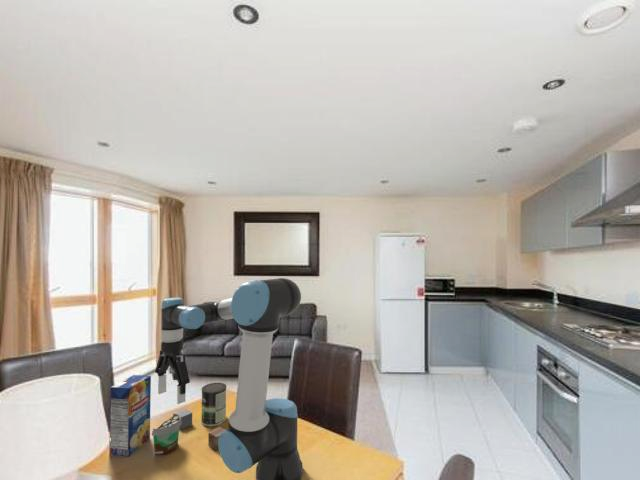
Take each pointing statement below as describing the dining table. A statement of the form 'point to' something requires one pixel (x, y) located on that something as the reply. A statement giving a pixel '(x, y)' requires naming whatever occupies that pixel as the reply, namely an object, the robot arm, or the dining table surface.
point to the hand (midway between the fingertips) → (171, 397)
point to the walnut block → (214, 438)
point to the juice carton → (129, 415)
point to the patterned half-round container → (166, 436)
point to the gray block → (185, 418)
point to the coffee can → (213, 404)
